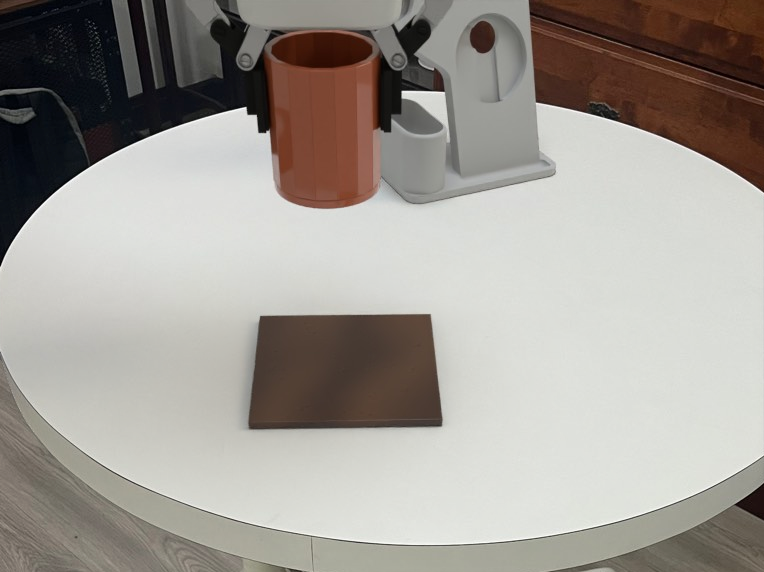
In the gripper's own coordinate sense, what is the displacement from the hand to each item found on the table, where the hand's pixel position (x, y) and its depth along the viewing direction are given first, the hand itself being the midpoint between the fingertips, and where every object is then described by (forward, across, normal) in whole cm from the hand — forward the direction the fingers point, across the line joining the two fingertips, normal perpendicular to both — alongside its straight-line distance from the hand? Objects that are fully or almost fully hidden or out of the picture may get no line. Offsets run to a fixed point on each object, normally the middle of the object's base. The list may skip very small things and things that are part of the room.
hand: (325, 123), depth 67 cm
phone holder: (+18, -13, -32) cm, 39 cm away
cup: (+4, 0, 0) cm, 4 cm away
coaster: (+18, -1, +3) cm, 18 cm away
